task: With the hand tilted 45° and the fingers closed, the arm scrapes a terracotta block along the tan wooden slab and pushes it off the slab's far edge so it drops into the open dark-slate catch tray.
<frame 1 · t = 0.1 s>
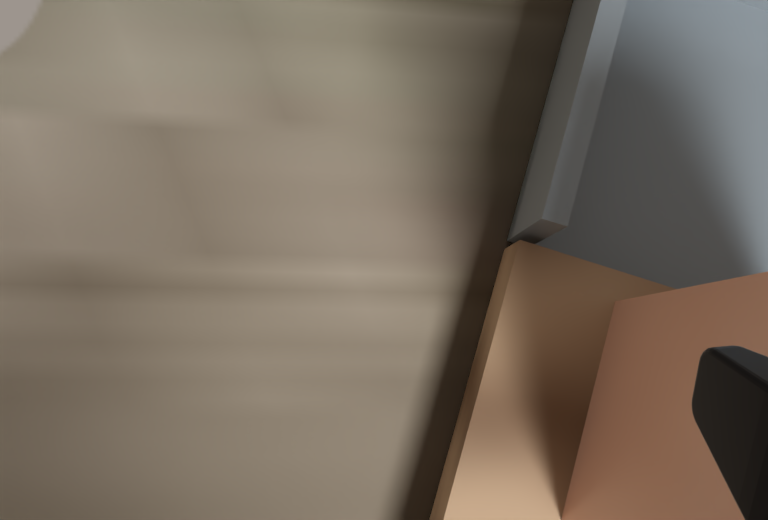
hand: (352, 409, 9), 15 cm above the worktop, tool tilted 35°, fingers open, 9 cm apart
terracotta block: (693, 440, 22), point 2 cm above the worktop, touching tan wooden slab
tan wooden slab: (653, 476, 24), on the worktop
slate tray: (729, 144, 26), on the worktop
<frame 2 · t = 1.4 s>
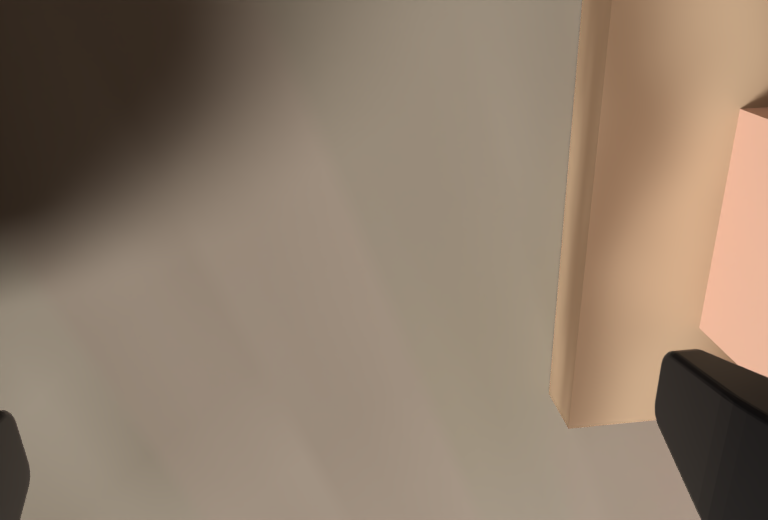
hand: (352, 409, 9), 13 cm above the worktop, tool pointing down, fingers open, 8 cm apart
tan wooden slab: (742, 199, 23), on the worktop
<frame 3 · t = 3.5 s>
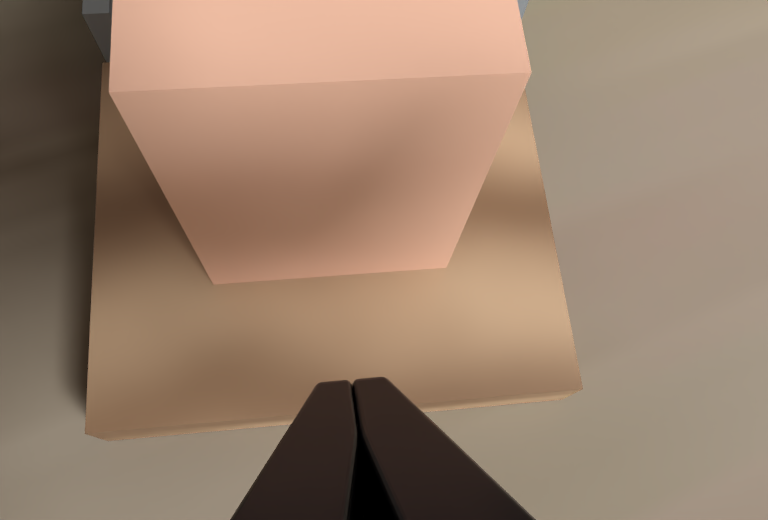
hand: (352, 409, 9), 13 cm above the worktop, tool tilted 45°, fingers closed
terracotta block: (323, 171, 22), point 2 cm above the worktop, touching tan wooden slab
tan wooden slab: (328, 239, 23), on the worktop
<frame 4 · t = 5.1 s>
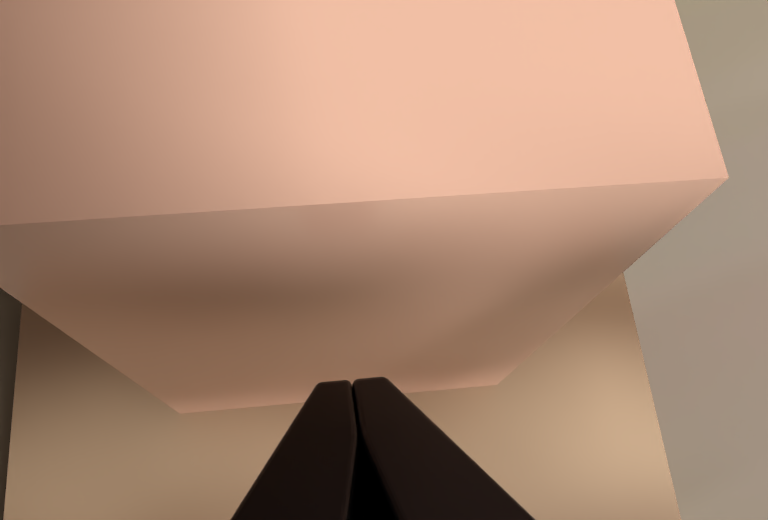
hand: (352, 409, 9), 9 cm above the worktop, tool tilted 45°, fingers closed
terracotta block: (330, 251, 17), point 2 cm above the worktop, touching tan wooden slab
tan wooden slab: (335, 334, 18), on the worktop
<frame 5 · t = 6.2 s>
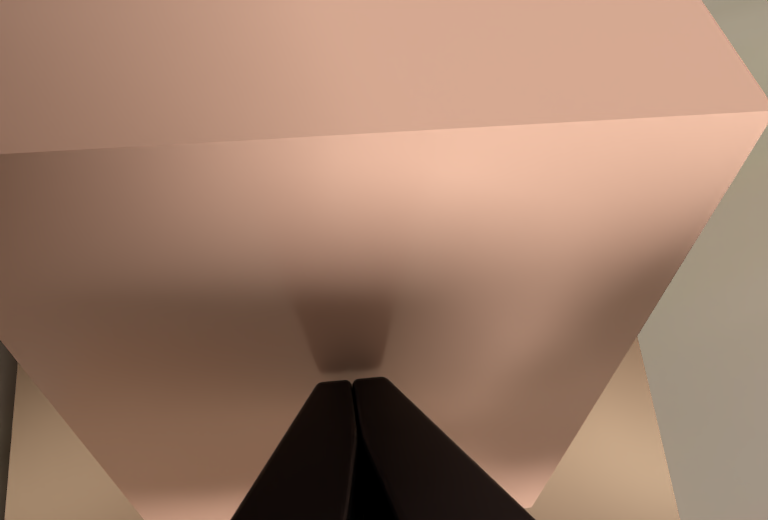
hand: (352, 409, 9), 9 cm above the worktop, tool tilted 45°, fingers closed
terracotta block: (339, 364, 15), point 2 cm above the worktop, tilted 16°, touching tan wooden slab
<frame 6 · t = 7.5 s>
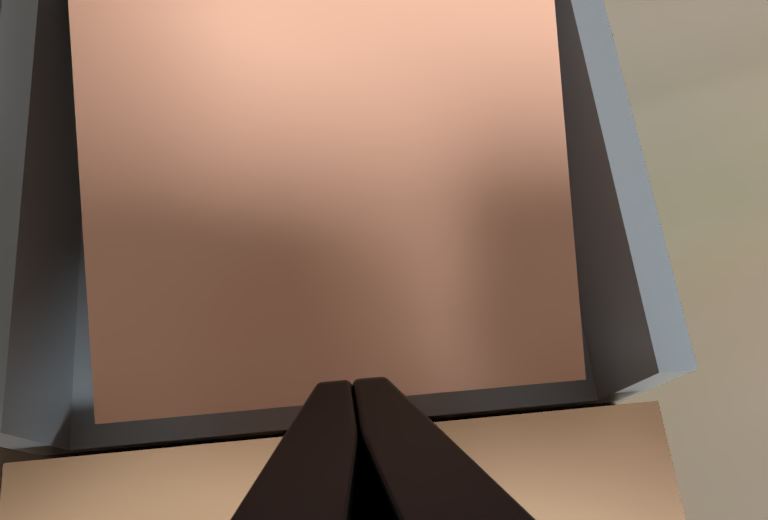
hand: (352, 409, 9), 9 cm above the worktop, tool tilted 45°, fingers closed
terracotta block: (341, 370, 13), point 4 cm above the worktop, tilted 72°, touching slate tray
slate tray: (325, 202, 19), on the worktop
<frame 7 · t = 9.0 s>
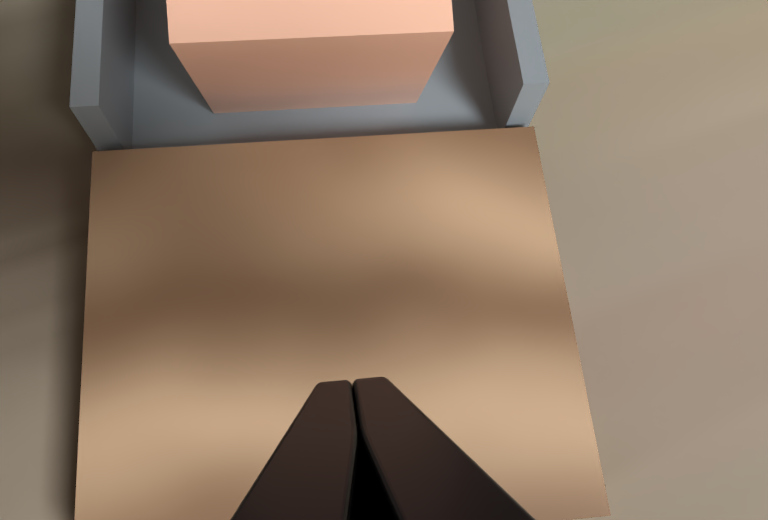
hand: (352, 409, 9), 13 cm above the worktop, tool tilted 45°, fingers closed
terracotta block: (315, 78, 21), point 4 cm above the worktop, tilted 72°, touching slate tray
tan wooden slab: (333, 337, 22), on the worktop
slate tray: (309, 18, 26), on the worktop
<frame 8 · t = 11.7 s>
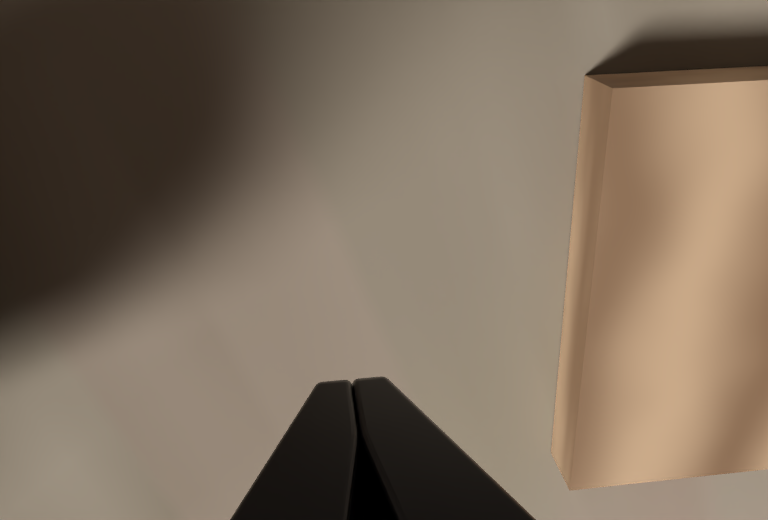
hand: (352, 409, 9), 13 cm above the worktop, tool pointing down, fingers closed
tan wooden slab: (735, 274, 24), on the worktop
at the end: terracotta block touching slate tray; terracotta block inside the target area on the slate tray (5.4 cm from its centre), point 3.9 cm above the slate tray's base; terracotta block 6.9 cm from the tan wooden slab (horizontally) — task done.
